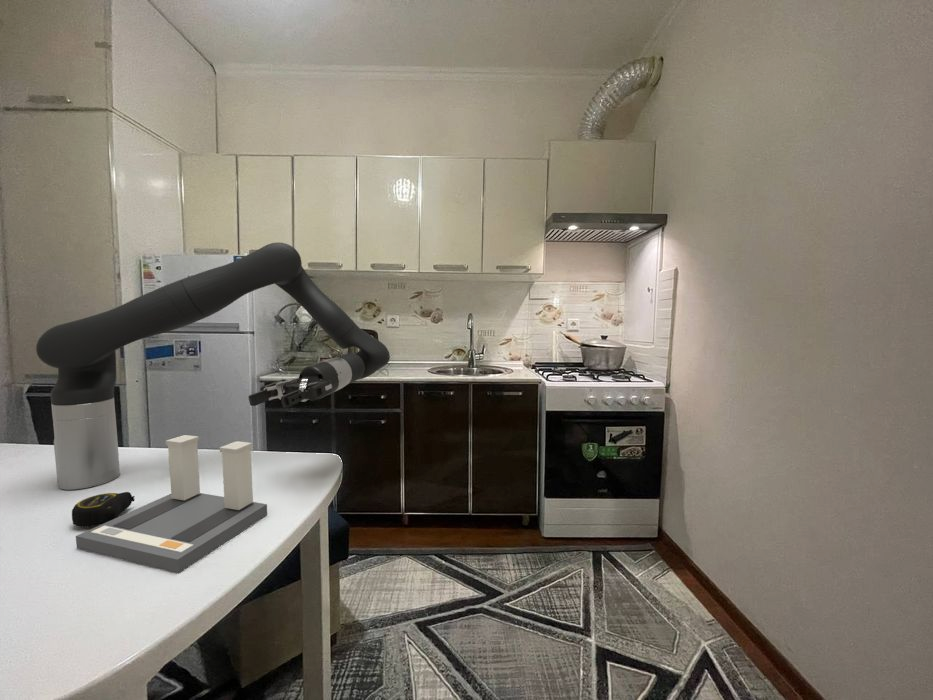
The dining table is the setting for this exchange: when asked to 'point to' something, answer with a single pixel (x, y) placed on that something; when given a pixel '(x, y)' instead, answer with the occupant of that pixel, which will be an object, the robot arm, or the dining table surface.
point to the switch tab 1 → (184, 467)
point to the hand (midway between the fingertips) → (266, 401)
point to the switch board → (171, 531)
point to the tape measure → (100, 508)
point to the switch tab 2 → (237, 474)
